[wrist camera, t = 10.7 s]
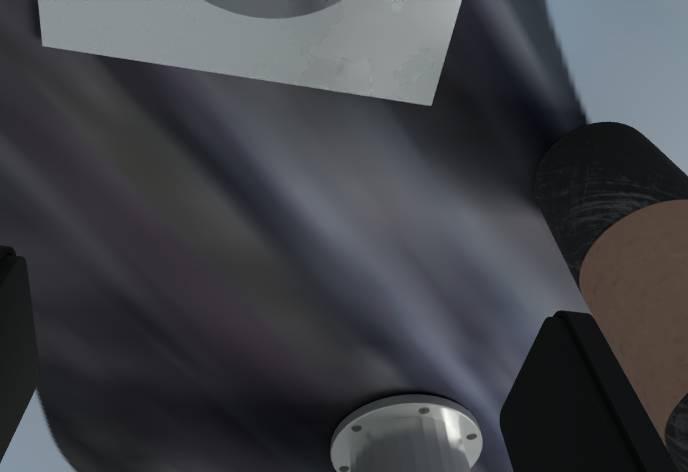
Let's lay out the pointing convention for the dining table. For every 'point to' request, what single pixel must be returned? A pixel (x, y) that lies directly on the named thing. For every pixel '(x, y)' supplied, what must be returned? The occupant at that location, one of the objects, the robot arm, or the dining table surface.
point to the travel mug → (627, 258)
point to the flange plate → (271, 39)
